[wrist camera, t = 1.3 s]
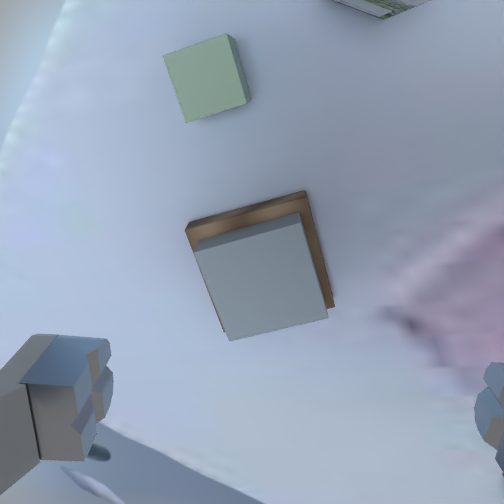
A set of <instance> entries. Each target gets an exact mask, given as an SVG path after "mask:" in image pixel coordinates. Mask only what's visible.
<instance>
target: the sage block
mask: <svg viewBox="0 0 504 504" xmlns="http://www.w3.org/2000/svg"><path fill="white" fill-rule="evenodd" d="M163 58H164V61H165V63H166V66H167V69H168V72H169V75H170V78H171V81H172V84H173V86H174V89H175V92H176V95H177V98H178V101H179V104H180V107H181V109H182V112H183V115H184V118H185V121H186V123H187V122H190V121H193V120H197V119H200V118H203V117H206V116H209V115H212V114H215V113H219V112H222V111H225V110H228V109H231V108H234V107H238V106H241V105H244V104H247V103H248V102H249V101H250V100H251V95H250V92H249V88H248V85H247V81H246V78H245V74H244V71H243V67H242V64H241V60H240V57H239V53H238V50H237V46H236V43H235V39H234V38H232V37H231V36H229V35H228V34H224V35H221V36H218V37H215V38H212V39H209V40H207V41H204V42H201V43H198V44H195V45H192V46H189V47H186V48H184V49H181V50H178V51H175V52H172V53H169V54H166V55H164V56H163Z"/></svg>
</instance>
